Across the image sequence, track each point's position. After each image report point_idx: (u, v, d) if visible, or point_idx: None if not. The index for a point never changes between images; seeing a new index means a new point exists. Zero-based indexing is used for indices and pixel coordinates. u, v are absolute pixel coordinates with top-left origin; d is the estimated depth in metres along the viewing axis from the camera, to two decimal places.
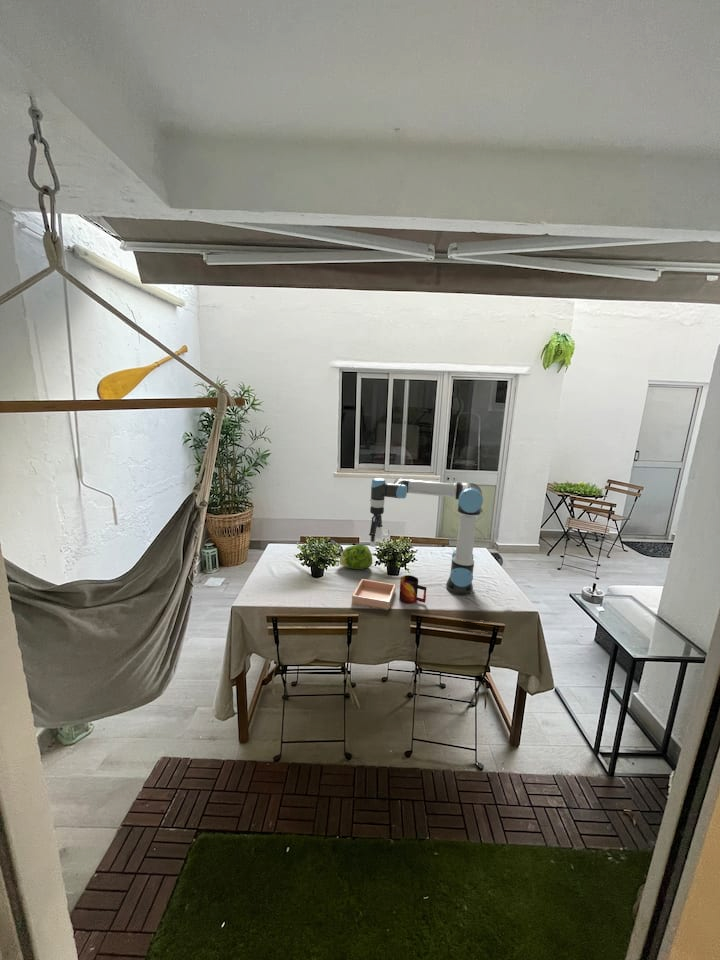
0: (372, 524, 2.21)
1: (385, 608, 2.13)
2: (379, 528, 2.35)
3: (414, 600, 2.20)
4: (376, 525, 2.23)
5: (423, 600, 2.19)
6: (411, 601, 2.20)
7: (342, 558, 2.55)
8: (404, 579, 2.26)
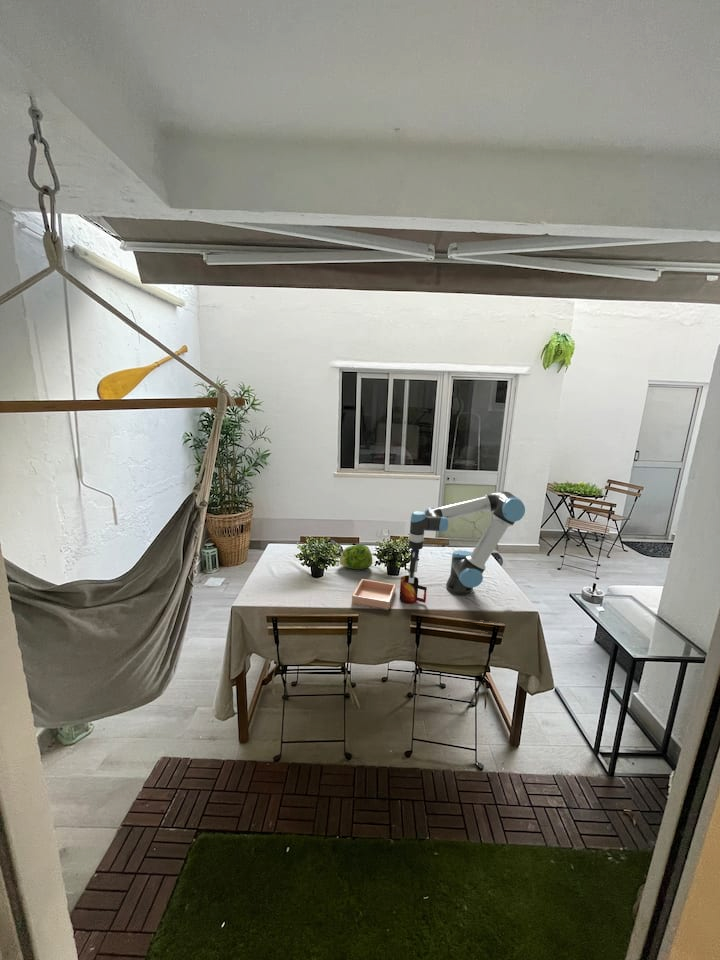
0: (412, 560, 2.11)
1: (385, 608, 2.13)
2: (416, 562, 2.26)
3: (414, 600, 2.20)
4: (415, 561, 2.14)
5: (423, 600, 2.19)
6: (411, 601, 2.20)
7: (342, 558, 2.55)
8: (404, 579, 2.26)
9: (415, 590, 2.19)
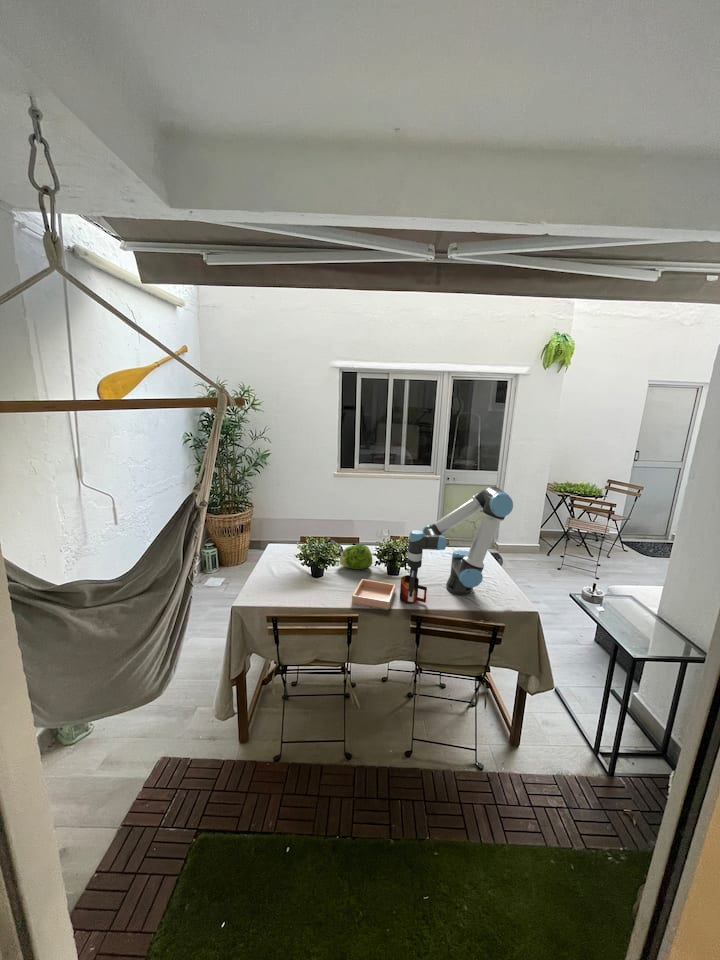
0: (410, 580, 2.14)
1: (385, 608, 2.13)
2: None
3: (414, 600, 2.20)
4: (414, 580, 2.17)
5: (423, 600, 2.19)
6: None
7: (342, 558, 2.55)
8: (404, 579, 2.26)
9: (415, 590, 2.19)
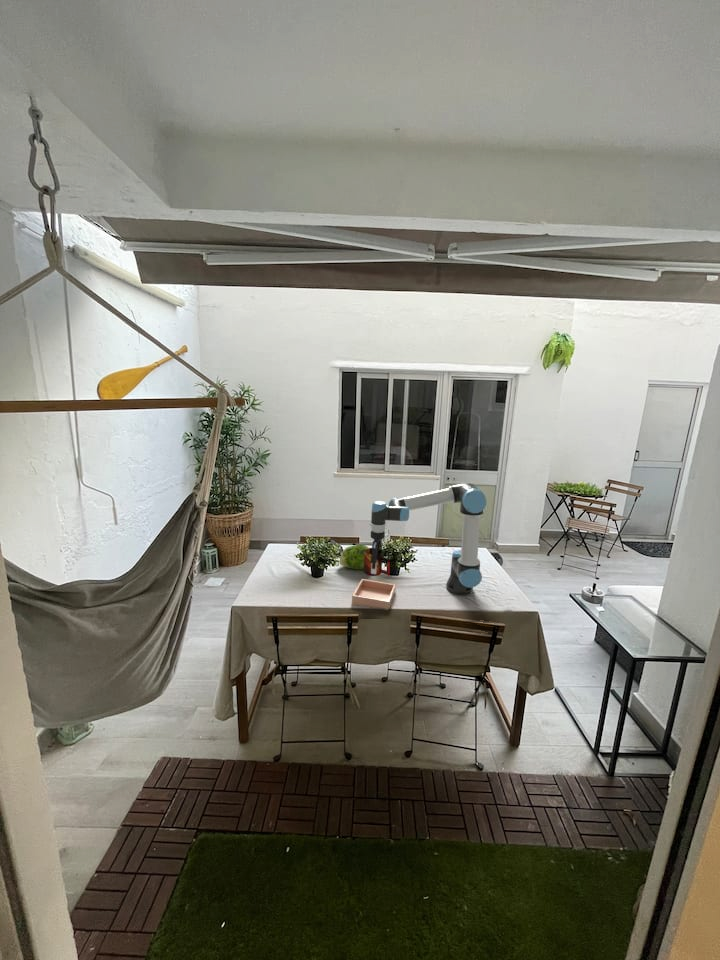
0: (373, 551, 2.11)
1: (385, 608, 2.13)
2: None
3: (378, 572, 2.17)
4: (377, 551, 2.14)
5: (387, 572, 2.16)
6: None
7: (342, 558, 2.55)
8: (369, 551, 2.23)
9: (378, 562, 2.16)
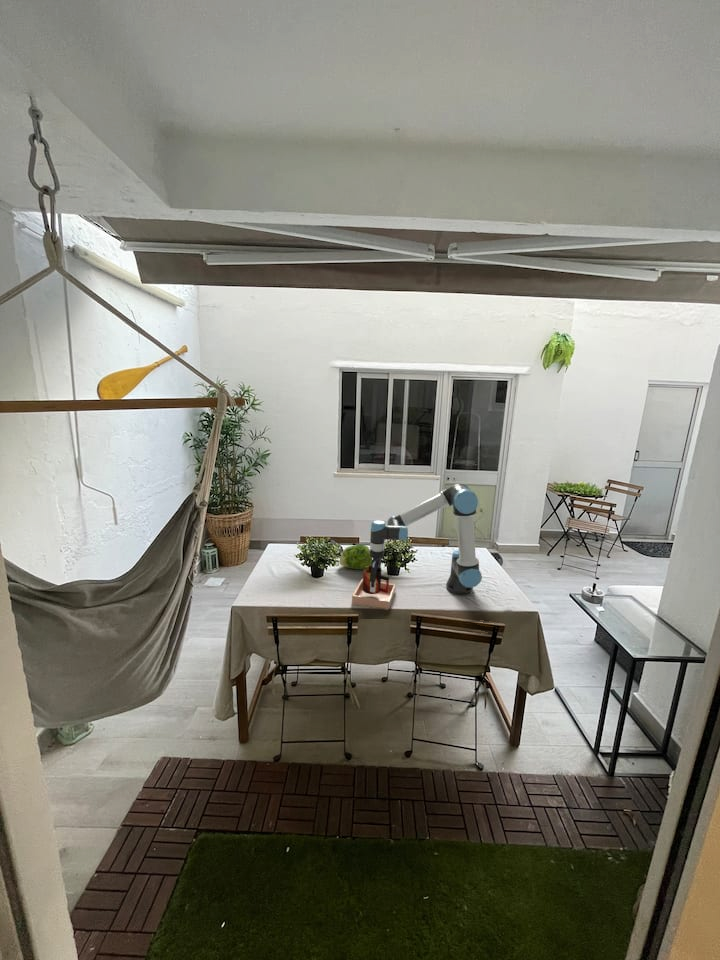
0: (372, 570, 2.13)
1: (385, 608, 2.13)
2: None
3: (377, 590, 2.20)
4: (376, 570, 2.16)
5: (386, 590, 2.19)
6: None
7: (342, 558, 2.55)
8: (368, 569, 2.25)
9: (377, 580, 2.18)
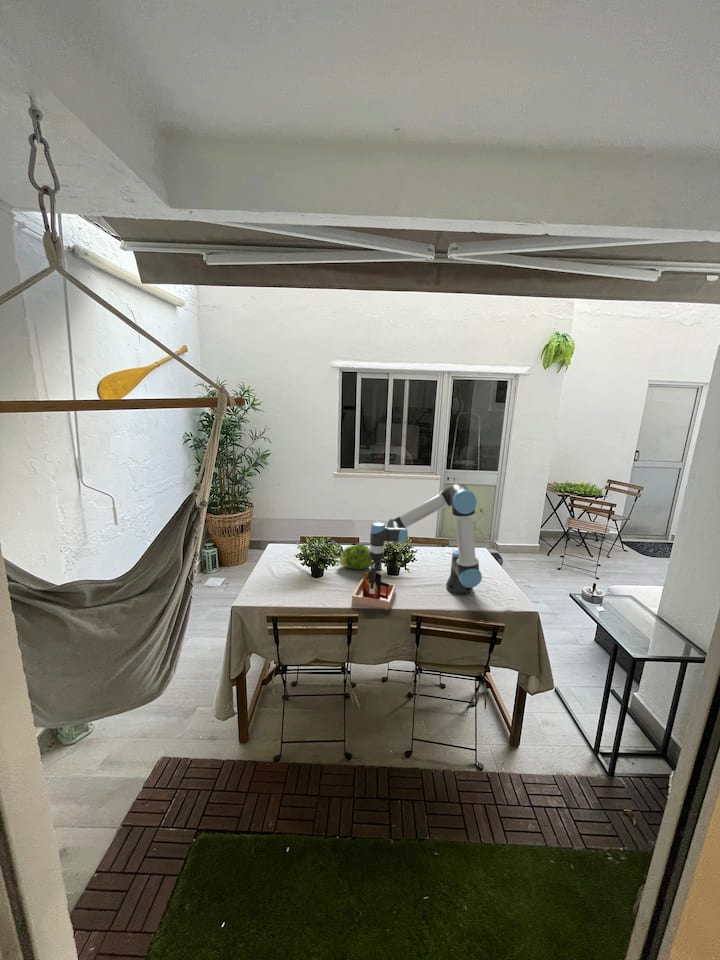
0: (371, 571, 2.13)
1: (385, 608, 2.13)
2: (379, 572, 2.27)
3: (377, 597, 2.21)
4: (376, 571, 2.16)
5: (385, 597, 2.19)
6: (373, 597, 2.20)
7: (342, 558, 2.55)
8: (368, 576, 2.26)
9: (377, 586, 2.19)
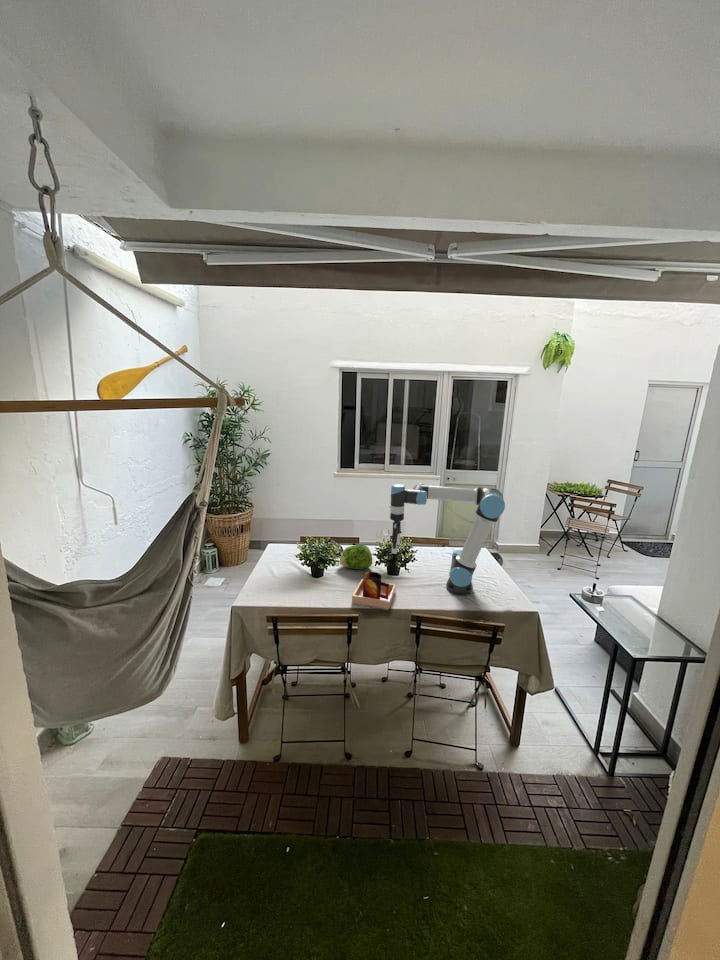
0: (394, 531, 2.19)
1: (385, 608, 2.13)
2: (398, 534, 2.34)
3: (377, 597, 2.21)
4: (397, 532, 2.22)
5: (386, 597, 2.19)
6: None
7: (342, 558, 2.55)
8: (368, 576, 2.26)
9: (377, 587, 2.19)
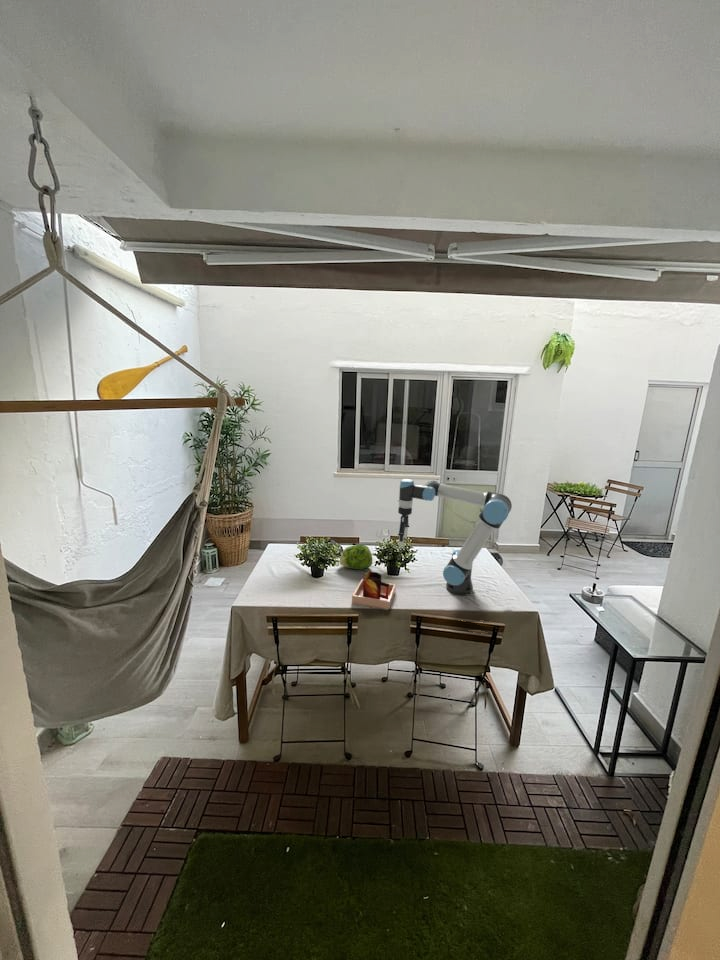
0: (401, 524, 2.24)
1: (385, 608, 2.13)
2: (406, 528, 2.39)
3: (377, 597, 2.21)
4: (404, 525, 2.27)
5: (386, 597, 2.19)
6: None
7: (342, 558, 2.55)
8: (368, 576, 2.26)
9: (377, 587, 2.19)
